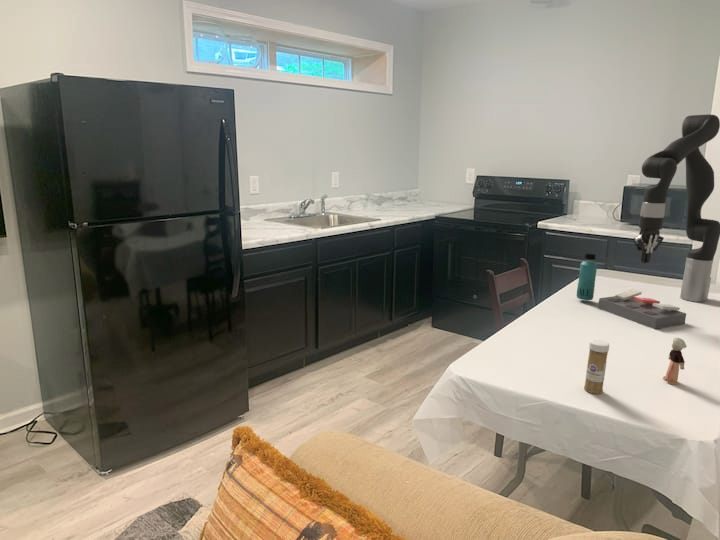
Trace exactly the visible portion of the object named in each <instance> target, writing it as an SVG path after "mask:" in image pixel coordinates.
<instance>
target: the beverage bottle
mask: <svg viewBox="0 0 720 540" xmlns="http://www.w3.org/2000/svg"><path fill="white" fill-rule="evenodd" d="M583 259H585V260H583V261H582V262H581V263H580V264H579V265H580V266H579V267H580V268H579V272H578V282H577V289H576V298H577V299H579V300H583V301H592V300H593V299H594V294H595V285H596V278H597V269H598V263H596V262H595V261H594V260H596V253H594V252H593V253H592V252H584V257H583Z"/></svg>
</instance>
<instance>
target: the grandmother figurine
mask: <svg viewBox="0 0 720 540" xmlns="http://www.w3.org/2000/svg"><path fill="white" fill-rule="evenodd" d="M687 347H688V346H687V343H686V342H685V340H684V339H682V338H681V337H673V339H672V344H671V348H672V349H671V350H670V351H669V354H668V355H669V356H668V360H669V361H670V362H669V364H668V367H667V369H666V372H665V376H663V377H662V378H663V380H665V381H667V383H668V384H669V385H671V384H672V385H671V386H677V385H679V384H680V382H679V381H678V379H679V373H680V370H685V363H686V361H685V359H684V356H683V353H682V350H683V349H686V348H687Z"/></svg>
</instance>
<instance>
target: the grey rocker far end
mask: <svg viewBox="0 0 720 540" xmlns="http://www.w3.org/2000/svg"><path fill="white" fill-rule="evenodd" d="M652 306H655V307H658V308H661V309H664V310H667V311H671V310H677V311H680V309H681V307H679V306H675V305H672V304H668V303H667V304H666V303H659V304H658V303H653V305H652Z"/></svg>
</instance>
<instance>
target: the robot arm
mask: <svg viewBox="0 0 720 540" xmlns="http://www.w3.org/2000/svg"><path fill="white" fill-rule="evenodd" d="M719 131H720V118H719V116H718V115H715V114H694V115H688V116H685V118H684V119H683V121H682V125H681V137H680V138H677V139H676V140H674V141H672V142H671V143H670V144H668V145H667V146H666V147H665V148H664V149H663V150H660V151H659V152H656V153H654V154H652V155H650V156H649V157H647V158H645V160H644V162H643V163H642V165H641V173H642V175H643V176H644V177H646V178H649V179H659V181H658V182H657V183H655V184H650V185H646V186H645V188H644V193H643V199H642V204H641V208H640V214H639V220H638V221H639V222H638V228H640V231H639V233H638V236H637V237H633V238H632V239H633V240H632V241H633V243H634V245H635V247H636V248H637V251H639V252H641V256H640V257H641V258H640V262H641V263H643V264H649V263H650V261H651V254H652V253H653V252H656V251H657V249H658V248H659V247H660V245H661V244H662V242H663V241H664V239H665V237H663V236H661V235H660V234H661V232H660V230H662V229H663V226H664V219H665V213H666V201H667V195H668V191H669V188H670V186H671V183H672V181H673V179H674V177H675V175H676V173H677V169H678V165H679V164H680V163H681V162H682V161H683V160H684V159H685V185H686V186H685V187H686V197H687V199H686V200H687V201H686V202H687V205H686V206H687V208H686V209H687V210H686V226H685V227H686V228H685V232H686V237H687V238H688V239H689V240H691V241H695V242H701V243H702V245H701V246H700V247H698V248H693V249H689V250H688V251H687V253H686V259H685V267H684V272H683V278H682V284H681V289H680V296H679V297H680V298H681V299H682V300H684V301H690V302H694V303H695V302H696V303H697V302H698V303H705V302H706V301H707V300H708V296H709V293H710V292H709V291H710V286H711V281H712V277H711V274H712V269H713V265H714V264H713V263H714V257H715V254H716V252H717V248H718V245H719V240H720V221H718V220H715V219H708V218H702V214H701V213H702V208H703V206H704V204H705V203H706V201H707V200H708V199H709V197H710V196H711V195H712V193H713V191H714V189H715V171H714V169H713V167H712V165H711V164H710V162H708V160H707V159H706V158H705V157H704V155H703V154H702V152H701V150H700V147H701V146H703V145H705V144H706V143H708V142H710V141H712V140H713V139H714V138H715V137H716V136H717V135H718V133H719Z"/></svg>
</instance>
